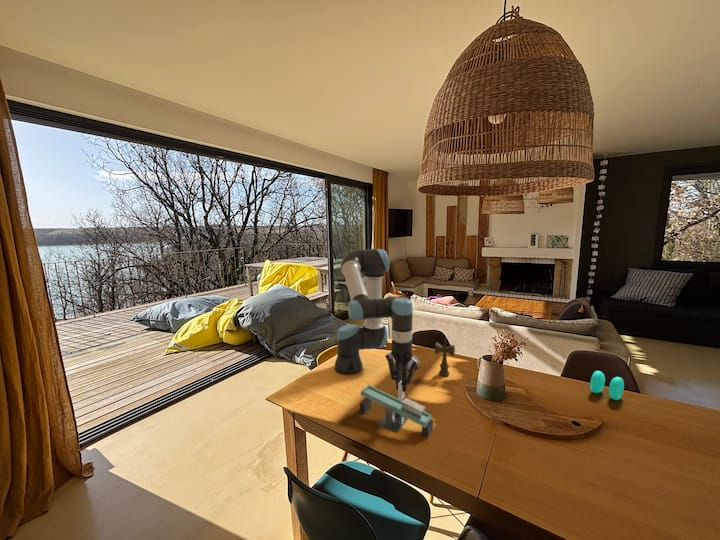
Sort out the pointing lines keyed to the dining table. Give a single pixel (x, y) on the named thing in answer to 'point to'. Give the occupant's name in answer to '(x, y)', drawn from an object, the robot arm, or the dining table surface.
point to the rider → (413, 408)
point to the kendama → (444, 356)
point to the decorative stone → (410, 362)
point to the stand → (393, 419)
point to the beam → (393, 404)
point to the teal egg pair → (614, 388)
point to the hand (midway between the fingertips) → (401, 398)
